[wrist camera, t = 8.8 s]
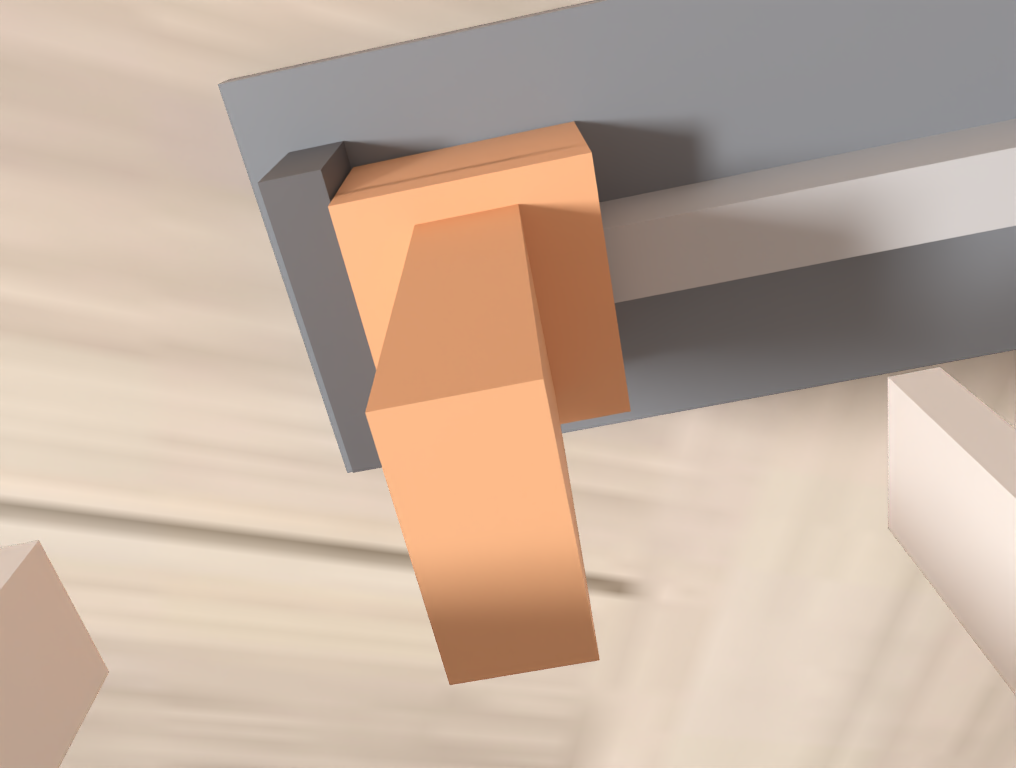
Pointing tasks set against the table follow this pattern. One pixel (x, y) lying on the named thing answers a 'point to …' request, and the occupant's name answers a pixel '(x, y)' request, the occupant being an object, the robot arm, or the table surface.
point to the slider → (487, 381)
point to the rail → (691, 182)
